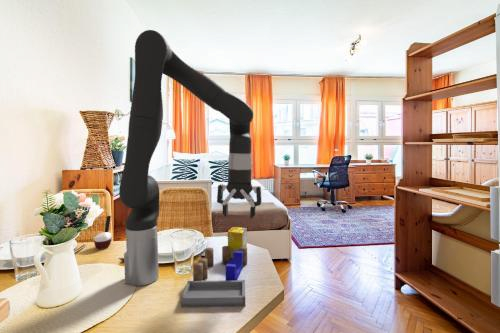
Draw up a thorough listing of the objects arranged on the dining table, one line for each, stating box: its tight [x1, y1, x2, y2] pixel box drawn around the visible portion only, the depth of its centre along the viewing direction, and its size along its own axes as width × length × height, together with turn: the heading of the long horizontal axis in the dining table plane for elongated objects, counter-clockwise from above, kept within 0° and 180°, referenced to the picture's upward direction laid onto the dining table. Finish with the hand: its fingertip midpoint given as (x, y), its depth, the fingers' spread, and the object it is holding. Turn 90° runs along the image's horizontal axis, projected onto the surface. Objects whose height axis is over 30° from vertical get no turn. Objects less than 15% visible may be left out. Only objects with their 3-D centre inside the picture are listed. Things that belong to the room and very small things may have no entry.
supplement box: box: [227, 226, 248, 259], centre depth 103 cm, size 6×6×11 cm
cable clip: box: [225, 251, 244, 281], centre depth 90 cm, size 12×4×6 cm, turn 170°
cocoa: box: [93, 215, 112, 250], centre depth 113 cm, size 10×6×12 cm, turn 152°
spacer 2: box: [197, 257, 209, 281], centre depth 88 cm, size 3×3×6 cm
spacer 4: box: [221, 245, 231, 266], centre depth 98 cm, size 3×3×6 cm
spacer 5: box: [239, 246, 248, 267], centre depth 98 cm, size 3×3×6 cm
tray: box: [180, 279, 246, 308], centre depth 77 cm, size 17×9×2 cm, turn 92°
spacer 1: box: [192, 261, 204, 281], centre depth 85 cm, size 3×3×6 cm
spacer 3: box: [204, 247, 215, 268], centre depth 97 cm, size 3×3×6 cm
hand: (238, 216), depth 89 cm, fingers open, 8 cm apart
